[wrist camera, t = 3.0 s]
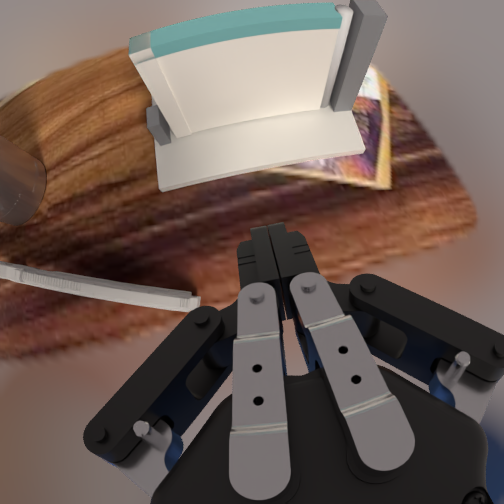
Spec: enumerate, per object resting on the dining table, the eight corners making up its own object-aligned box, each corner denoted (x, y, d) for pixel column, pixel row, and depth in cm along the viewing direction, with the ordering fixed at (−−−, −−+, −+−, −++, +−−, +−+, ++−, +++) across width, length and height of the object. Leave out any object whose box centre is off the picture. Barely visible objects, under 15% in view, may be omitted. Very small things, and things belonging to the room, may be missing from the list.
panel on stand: (162, 192, 31) (88, 117, 16) (153, 82, 33) (107, -5, 18) (363, 153, 30) (417, 61, 15) (321, 51, 32) (337, -44, 17)
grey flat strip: (-13, 257, 30) (-49, 249, 22) (202, 292, 33) (199, 293, 25) (-15, 271, 30) (-51, 266, 22) (201, 310, 33) (197, 316, 25)
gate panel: (176, 138, 30) (128, 54, 17) (175, 122, 30) (129, 38, 17) (331, 109, 29) (357, 17, 16) (325, 94, 30) (347, 2, 17)
